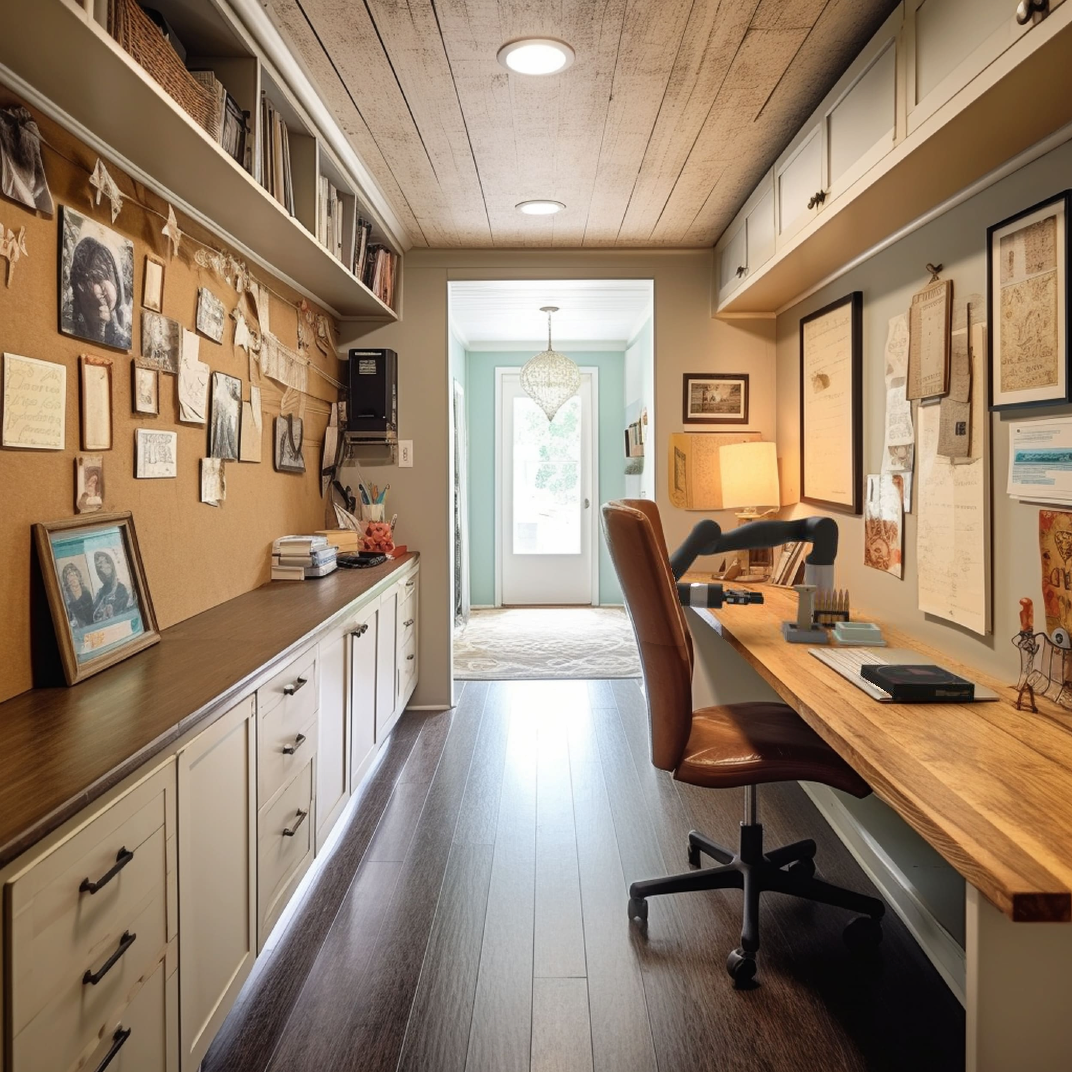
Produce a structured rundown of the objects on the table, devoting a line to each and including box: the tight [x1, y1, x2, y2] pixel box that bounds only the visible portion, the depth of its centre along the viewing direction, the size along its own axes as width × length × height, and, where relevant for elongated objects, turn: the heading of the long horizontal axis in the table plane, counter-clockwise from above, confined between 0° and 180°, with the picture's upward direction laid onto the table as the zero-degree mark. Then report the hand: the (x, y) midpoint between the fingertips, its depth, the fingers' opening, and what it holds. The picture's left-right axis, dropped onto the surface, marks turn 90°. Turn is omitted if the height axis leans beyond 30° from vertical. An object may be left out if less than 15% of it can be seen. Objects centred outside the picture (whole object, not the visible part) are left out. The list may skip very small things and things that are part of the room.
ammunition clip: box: [812, 588, 850, 628], centre depth 236 cm, size 11×2×12 cm, turn 76°
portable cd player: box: [859, 663, 976, 702], centre depth 165 cm, size 16×17×4 cm
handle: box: [793, 584, 817, 630], centre depth 220 cm, size 5×6×15 cm
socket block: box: [781, 620, 829, 645], centre depth 220 cm, size 16×11×3 cm
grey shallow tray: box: [830, 621, 887, 648], centre depth 217 cm, size 16×12×4 cm
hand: (763, 598), depth 222 cm, fingers open, 8 cm apart
